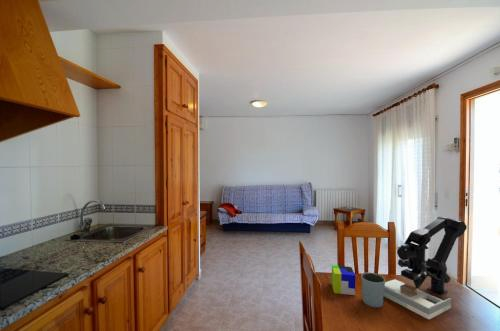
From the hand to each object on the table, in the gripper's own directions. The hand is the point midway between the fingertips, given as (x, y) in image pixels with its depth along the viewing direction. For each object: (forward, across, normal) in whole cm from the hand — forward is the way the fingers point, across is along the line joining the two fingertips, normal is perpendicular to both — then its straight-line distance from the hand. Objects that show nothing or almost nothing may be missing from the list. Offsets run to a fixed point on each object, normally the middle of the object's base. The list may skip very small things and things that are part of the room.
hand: (417, 288), depth 123 cm
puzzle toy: (+3, +30, -20) cm, 36 cm away
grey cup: (+3, +27, -5) cm, 28 cm away
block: (+1, +7, 0) cm, 7 cm away
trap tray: (+3, +8, +1) cm, 9 cm away
